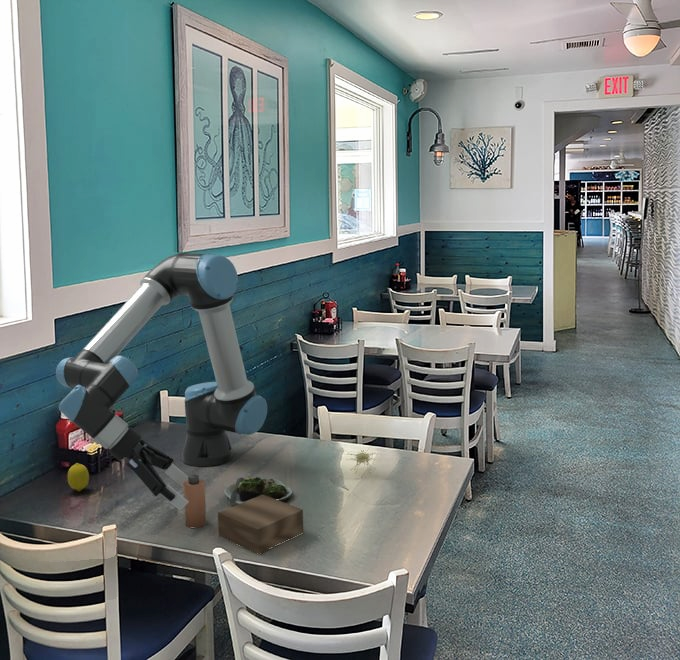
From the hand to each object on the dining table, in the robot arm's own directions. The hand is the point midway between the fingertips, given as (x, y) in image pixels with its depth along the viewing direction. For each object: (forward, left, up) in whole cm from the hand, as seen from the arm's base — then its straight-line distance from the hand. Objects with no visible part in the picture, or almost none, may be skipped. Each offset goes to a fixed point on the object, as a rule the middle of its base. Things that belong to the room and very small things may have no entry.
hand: (186, 494), depth 183 cm
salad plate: (-23, 0, -8) cm, 24 cm away
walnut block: (-8, +18, -8) cm, 21 cm away
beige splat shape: (-54, +9, -8) cm, 56 cm away
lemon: (+6, -40, -8) cm, 42 cm away
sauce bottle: (-2, +1, -8) cm, 8 cm away
